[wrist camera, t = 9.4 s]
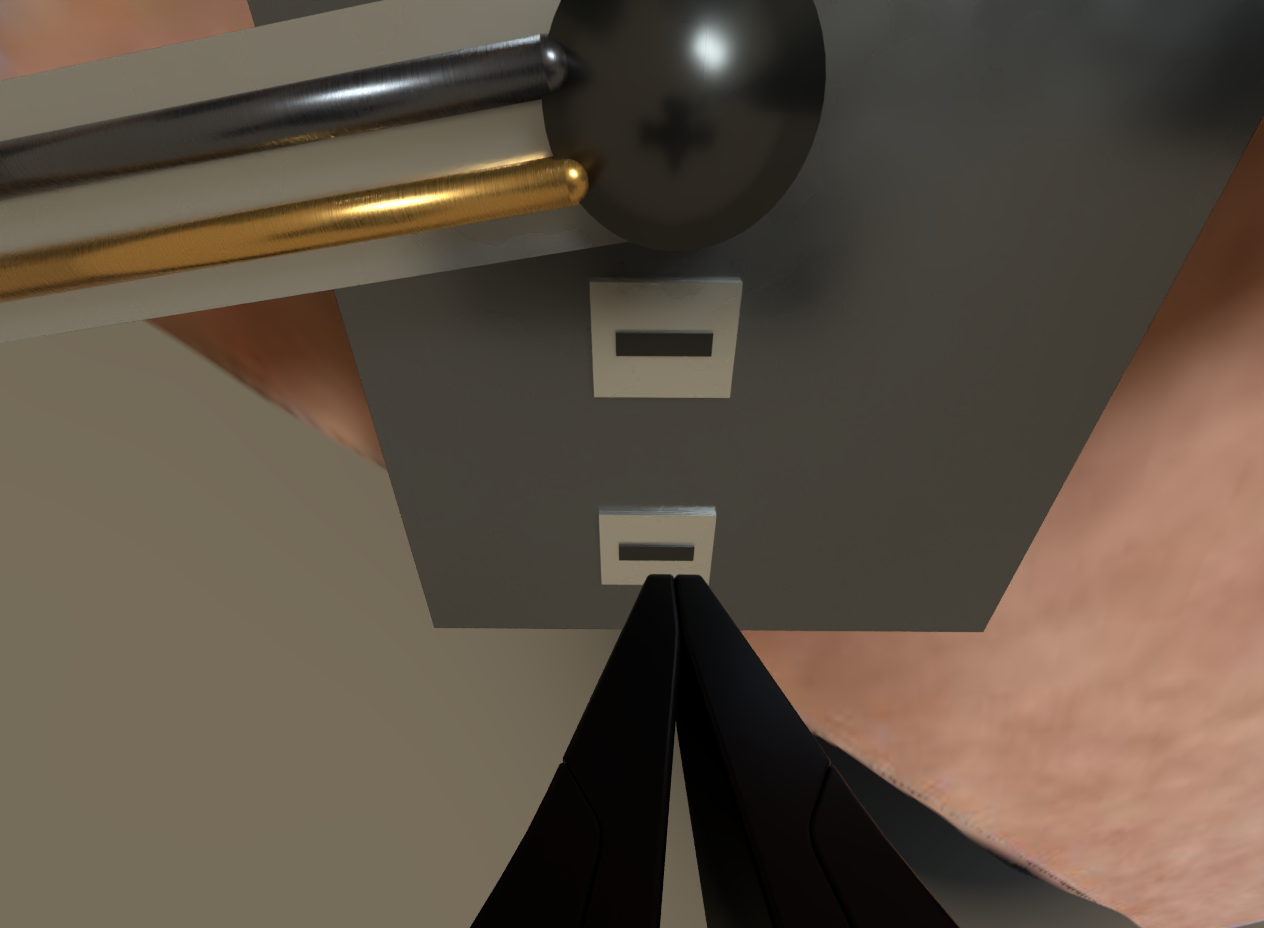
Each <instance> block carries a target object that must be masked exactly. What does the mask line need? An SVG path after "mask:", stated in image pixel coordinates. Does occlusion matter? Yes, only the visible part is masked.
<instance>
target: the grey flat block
mask: <svg viewBox="0 0 1264 928" xmlns="http://www.w3.org/2000/svg"><path fill="white" fill-rule="evenodd" d="M247 1H248V4H249V8H250V11H251V14H252V18H253V21H254V24H255V27H259V26H263V25H268V24H273V23H278V22H282V21H287V20H292V19H297V18H301V17H306V16H311V15H316V14H320V13H325V12H330V11H335V10H339V9H344V8H349V7H354V6H358V5H363V4H368V3H373V2H377V1H382V0H247ZM813 1H814V4H815V6H816V9H817V13H818V17H819V20H820V24H821V28H822V32H823V40H824V47H825V55H826V83H825V94H824V103H823V108H822V113H821V118H820V122H819V126H818V129H817V132H816V135H815V139H814V142H813V144H812V147H811V149H810V151H809V154H808V156H807V158H806V161H805V163H804V165H803V166H802V168H801V170H800V172H799V173H798V175H797V177H796V179H795V180H794V182H793V183H792V185H791V186H790V187H789V189H788V190H787V192H786V193H785V194H784V196H783V197H782V198H781V199H780V200H779V201H778V202H777V204H776V205H775V206H774V207H773V208H772V209H771V210H770V211H769V212H768V213H767V214H766V215H765V216H763V217H762V218H761V219H760V220H759V221H758V222H757V223H755V224H754V225H752V226H751V227H749V228H748V229H746V230H745V231H744V232H742V233H740V234H738V235H736V236H735V237H733V238H731V239H729V240H727V241H724V242H722V243H719V244H716V245H714V246H711V247H706V248H702V249H698V250H691V251H680V252H677V251H661V250H656V249H650V248H646V247H643V246H640V245H637V244H634V243H631V242H624V243H617V244H611V245H605V246H599V247H593V248H586V249H580V250H574V251H568V252H561V253H555V254H549V255H543V256H537V257H530V258H524V259H518V260H512V261H506V262H499V263H493V264H487V265H481V266H475V267H468V268H462V269H456V270H450V271H443V272H437V273H431V274H425V275H419V276H412V277H406V278H400V279H394V280H388V281H381V282H375V283H369V284H363V285H357V286H350V287H344V288H338V289H334V293H335V296H336V299H337V303H338V306H339V309H340V313H341V316H342V319H343V323H344V326H345V329H346V333H347V336H348V339H349V343H350V346H351V350H352V353H353V356H354V360H355V363H356V366H357V370H358V373H359V376H360V380H361V383H362V386H363V390H364V393H365V396H366V400H367V403H368V407H369V410H370V413H371V417H372V420H373V423H374V427H375V430H376V433H377V437H378V440H379V443H380V447H381V450H382V454H383V457H384V460H385V464H386V467H387V470H388V474H389V477H390V480H391V484H392V487H393V490H394V494H395V497H396V500H397V504H398V507H399V510H400V514H401V517H402V520H403V524H404V527H405V530H406V534H407V537H408V541H409V544H410V547H411V551H412V554H413V557H414V561H415V564H416V568H417V571H418V574H419V578H420V581H421V584H422V588H423V591H424V594H425V598H426V601H427V604H428V607H429V611H430V614H431V618H432V621H433V624H434V628H534V629H536V628H537V629H539V628H540V629H623V627H624V625H625V623H626V621H627V618H628V616H629V614H630V612H631V610H632V608H633V606H634V603H635V601H636V599H637V597H638V595H639V593H640V590H641V588H642V586H643V584H644V582H645V580H646V578H647V576H648V575H650V574H671V575H673V577H674V578H675V576H676V575H678V574H694V575H700V576H702V577H703V579H704V580H705V581H706V583H707V584H708V586H709V587H710V589H711V590H712V591H713V593H714V594H715V596H716V597H717V599H718V600H719V602H720V603H721V604H722V606H723V607H724V609H725V610H726V612H727V613H728V614H729V616H730V617H731V619H732V620H733V622H734V623H735V624H736V626H737V627H738V629H739V630H786V631H913V632H983V631H984V630H985V628H986V626H987V624H988V622H989V620H990V618H991V617H992V615H993V613H994V611H995V609H996V607H997V606H998V604H999V602H1000V600H1001V598H1002V596H1003V595H1004V593H1005V591H1006V589H1007V587H1008V585H1009V583H1010V582H1011V580H1012V578H1013V576H1014V574H1015V572H1016V571H1017V569H1018V567H1019V565H1020V563H1021V561H1022V560H1023V558H1024V556H1025V554H1026V552H1027V550H1028V548H1029V547H1030V545H1031V543H1032V541H1033V539H1034V537H1035V536H1036V534H1037V532H1038V530H1039V528H1040V526H1041V525H1042V523H1043V521H1044V519H1045V517H1046V515H1047V513H1048V512H1049V510H1050V508H1051V506H1052V504H1053V502H1054V501H1055V499H1056V497H1057V495H1058V493H1059V491H1060V490H1061V488H1062V486H1063V484H1064V482H1065V480H1066V478H1067V477H1068V475H1069V473H1070V471H1071V469H1072V467H1073V466H1074V464H1075V462H1076V460H1077V458H1078V456H1079V455H1080V453H1081V451H1082V449H1083V447H1084V445H1085V444H1086V442H1087V440H1088V438H1089V436H1090V434H1091V432H1092V431H1093V429H1094V427H1095V425H1096V423H1097V421H1098V420H1099V418H1100V416H1101V414H1102V412H1103V410H1104V409H1105V407H1106V405H1107V403H1108V401H1109V399H1110V397H1111V396H1112V394H1113V392H1114V390H1115V388H1116V386H1117V385H1118V383H1119V381H1120V379H1121V377H1122V375H1123V374H1124V372H1125V370H1126V368H1127V366H1128V364H1129V362H1130V361H1131V359H1132V357H1133V355H1134V353H1135V351H1136V350H1137V348H1138V346H1139V344H1140V342H1141V340H1142V339H1143V337H1144V335H1145V333H1146V331H1147V329H1148V327H1149V326H1150V324H1151V322H1152V320H1153V318H1154V316H1155V315H1156V313H1157V311H1158V309H1159V307H1160V305H1161V304H1162V302H1163V300H1164V298H1165V296H1166V294H1167V292H1168V291H1169V289H1170V287H1171V285H1172V283H1173V281H1174V280H1175V278H1176V276H1177V274H1178V272H1179V270H1180V269H1181V267H1182V265H1183V263H1184V261H1185V259H1186V257H1187V256H1188V254H1189V252H1190V250H1191V248H1192V246H1193V245H1194V243H1195V241H1196V239H1197V237H1198V235H1199V234H1200V232H1201V230H1202V228H1203V226H1204V224H1205V223H1206V221H1207V219H1208V217H1209V215H1210V213H1211V211H1212V210H1213V208H1214V206H1215V204H1216V202H1217V200H1218V199H1219V197H1220V195H1221V193H1222V191H1223V189H1224V188H1225V186H1226V184H1227V182H1228V180H1229V178H1230V176H1231V175H1232V173H1233V171H1234V169H1235V167H1236V165H1237V164H1238V162H1239V160H1240V158H1241V156H1242V154H1243V153H1244V151H1245V149H1246V147H1247V145H1248V143H1249V141H1250V140H1251V138H1252V136H1253V134H1254V132H1255V130H1256V129H1257V127H1258V125H1259V123H1260V121H1261V119H1262V118H1263V116H1264V0H813Z"/></svg>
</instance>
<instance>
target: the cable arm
mask: <svg viewBox="0 0 1264 928" xmlns="http://www.w3.org/2000/svg"><path fill="white" fill-rule="evenodd" d="M825 83H826V55H825V47H824V40H823V32H822V28H821V24H820V20H819V17H818V13H817V9H816V6H815V4H814V1H813V0H382V1H377V2H373V3H368V4H363V5H358V6H354V7H349V8H344V9H339V10H335V11H330V12H325V13H320V14H316V15H311V16H306V17H301V18H297V19H292V20H287V21H282V22H278V23H273V24H268V25H263V26H259V27H254V28H249V29H244V30H240V31H235V32H230V33H225V34H221V35H216V36H211V37H206V38H201V39H197V40H192V41H187V42H182V43H178V44H173V45H168V46H163V47H159V48H154V49H149V50H144V51H140V52H135V53H130V54H125V55H121V56H116V57H111V58H106V59H102V60H97V61H92V62H87V63H83V64H78V65H73V66H68V67H64V68H59V69H54V70H49V71H45V72H40V73H35V74H30V75H26V76H21V77H16V78H11V79H7V80H2V81H0V343H3V342H9V341H15V340H21V339H27V338H33V337H39V336H46V335H52V334H58V333H64V332H71V331H77V330H83V329H89V328H96V327H102V326H108V325H114V324H120V323H127V322H133V321H139V320H145V319H152V318H158V317H164V316H170V315H177V314H183V313H189V312H195V311H201V310H208V309H214V308H220V307H226V306H232V305H239V304H245V303H251V302H257V301H263V300H270V299H276V298H282V297H288V296H294V295H301V294H307V293H313V292H319V291H326V290H332V289H338V288H344V287H350V286H357V285H363V284H369V283H375V282H381V281H388V280H394V279H400V278H406V277H412V276H419V275H425V274H431V273H437V272H443V271H450V270H456V269H462V268H468V267H475V266H481V265H487V264H493V263H499V262H506V261H512V260H518V259H524V258H530V257H537V256H543V255H549V254H555V253H561V252H568V251H574V250H580V249H586V248H593V247H599V246H605V245H611V244H617V243H624V242H631V243H634V244H637V245H640V246H643V247H646V248H650V249H656V250H661V251H677V252H680V251H691V250H698V249H702V248H706V247H711V246H714V245H716V244H719V243H722V242H724V241H727V240H729V239H731V238H733V237H735V236H736V235H738V234H740V233H742V232H744V231H745V230H746V229H748V228H749V227H751V226H752V225H754V224H755V223H757V222H758V221H759V220H760V219H761V218H762V217H763V216H765V215H766V214H767V213H768V212H769V211H770V210H771V209H772V208H773V207H774V206H775V205H776V204H777V202H778V201H779V200H780V199H781V198H782V197H783V196H784V194H785V193H786V192H787V190H788V189H789V187H790V186H791V185H792V183H793V182H794V180H795V179H796V177H797V175H798V173H799V172H800V170H801V168H802V166H803V165H804V163H805V161H806V158H807V156H808V154H809V151H810V149H811V147H812V144H813V142H814V139H815V135H816V132H817V129H818V126H819V122H820V118H821V113H822V108H823V103H824V94H825Z"/></svg>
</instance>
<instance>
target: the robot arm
mask: <svg viewBox="0 0 1264 928" xmlns="http://www.w3.org/2000/svg"><path fill="white" fill-rule="evenodd" d="M675 722H676V727H677V734H678V741H679V747H680V754H681V760H682V767H683V773H684V779H685V786H686V792H687V799H688V805H689V812H690V819H691V825H692V831H693V838H694V845H695V851H696V858H697V864H698V871H699V877H700V884H701V890H702V897H703V903H704V909H705V916H706V923H707V928H960V927H959V926H958V924H957V923H956V922H955V921H954V920H953V919H952V917H951V916H950V915H949V914H948V913H947V911H946V910H945V909H944V908H943V907H942V905H941V904H940V903H939V902H938V901H937V899H936V898H935V897H934V896H933V895H932V893H931V892H930V891H929V890H928V889H927V887H926V886H925V885H924V884H923V883H922V882H921V880H920V879H919V878H918V876H917V875H916V874H915V873H914V872H913V870H912V869H911V868H910V867H909V865H908V864H907V863H906V862H905V860H903V858H902V857H901V855H900V854H899V853H898V852H897V851H896V849H895V848H894V847H893V846H892V844H891V843H890V842H889V841H888V839H887V838H886V837H885V836H884V834H883V833H882V832H881V830H880V829H879V828H878V826H877V825H876V823H875V822H874V821H873V819H872V818H871V817H870V815H869V814H868V813H867V811H866V810H865V808H864V807H863V806H862V804H861V803H860V802H859V800H858V799H857V798H856V796H855V795H854V794H853V792H852V791H851V789H850V788H849V786H848V785H847V783H846V782H845V780H844V779H843V778H842V776H841V775H840V773H839V772H838V770H837V769H836V768H835V767H834V766H830V764H831V762H830V760H829V758H828V756H827V755H826V754H825V752H824V751H823V749H822V748H821V747H820V745H819V744H818V742H817V741H816V739H815V738H814V736H813V735H812V733H811V732H810V731H809V729H808V728H807V726H806V725H805V723H804V722H803V721H802V719H801V718H800V716H799V715H798V713H797V712H796V711H795V709H794V708H793V706H792V705H791V703H790V702H789V700H788V699H787V698H786V696H785V695H784V693H783V692H782V690H781V689H780V688H779V686H778V685H777V683H776V682H775V680H774V679H773V678H772V676H771V675H770V673H769V672H768V670H767V669H766V667H765V666H764V665H763V663H762V662H761V660H760V659H759V657H758V656H757V655H756V653H755V652H754V650H753V649H752V647H751V646H750V645H749V643H748V642H747V640H746V639H745V637H744V636H743V635H742V633H741V632H740V630H739V629H738V627H737V626H736V624H735V623H734V622H733V620H732V619H731V617H730V616H729V614H728V613H727V612H726V610H725V609H724V607H723V606H722V604H721V603H720V602H719V600H718V599H717V597H716V596H715V594H714V593H713V591H712V590H711V589H710V587H709V586H708V584H707V583H706V581H705V580H704V579H703V577H702V576H700V575H694V574H678V575H676V576H675V578H674V577H673V575H671V574H650V575H648V576H647V578H646V580H645V582H644V584H643V586H642V588H641V590H640V593H639V595H638V597H637V599H636V601H635V603H634V606H633V608H632V610H631V612H630V614H629V616H628V618H627V621H626V623H625V625H624V627H623V629H622V632H621V634H620V636H619V638H618V640H617V642H616V644H615V647H614V649H613V651H612V653H611V655H610V657H609V660H608V662H607V664H606V666H605V668H604V670H603V672H602V675H601V677H600V679H599V681H598V683H597V685H596V688H595V690H594V692H593V694H592V696H591V698H590V701H589V703H588V705H587V707H586V709H585V712H584V713H583V716H582V718H581V720H580V722H579V724H578V726H577V729H576V731H575V733H574V735H573V737H572V739H571V741H570V744H569V746H568V748H567V750H566V752H565V755H564V757H563V763H561V764H560V765H559V767H558V769H557V771H556V773H555V775H554V778H553V779H552V782H551V784H550V786H549V788H548V790H547V792H546V794H545V796H544V798H543V800H542V802H541V804H540V806H539V808H538V810H537V812H536V814H535V816H534V818H533V820H532V822H531V824H530V826H529V828H528V830H527V832H526V834H525V835H524V837H523V839H522V841H521V842H520V844H519V846H518V848H517V850H516V851H515V853H514V855H513V856H512V858H511V860H510V862H509V864H508V865H507V867H506V869H505V871H504V872H503V874H502V876H501V877H500V879H499V881H498V882H497V884H496V886H495V887H494V889H493V891H492V892H491V894H490V896H489V897H488V899H487V901H486V902H485V904H484V905H483V907H482V909H481V910H480V912H479V914H478V916H477V917H476V918H475V920H474V922H473V924H472V925H471V927H470V928H660V919H661V905H662V892H663V879H664V866H665V853H666V839H667V826H668V814H669V801H670V788H671V775H672V762H673V749H674V735H675Z"/></svg>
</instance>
